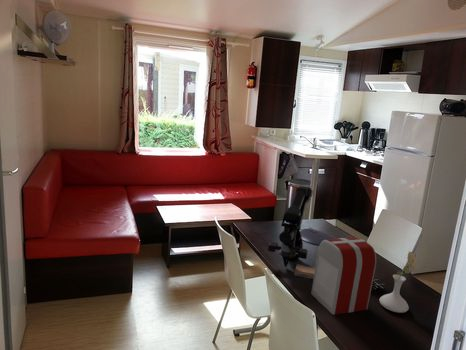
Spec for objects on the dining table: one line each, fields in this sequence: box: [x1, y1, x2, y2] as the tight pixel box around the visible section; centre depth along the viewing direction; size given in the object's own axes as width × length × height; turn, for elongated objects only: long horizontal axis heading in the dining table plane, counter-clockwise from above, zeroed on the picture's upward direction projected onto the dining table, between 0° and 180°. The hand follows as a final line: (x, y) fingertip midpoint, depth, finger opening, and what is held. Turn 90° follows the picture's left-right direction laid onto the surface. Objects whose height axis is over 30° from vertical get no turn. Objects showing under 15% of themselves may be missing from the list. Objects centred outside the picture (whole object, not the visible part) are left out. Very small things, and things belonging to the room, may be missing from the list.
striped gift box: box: [310, 237, 377, 315], centre depth 153 cm, size 17×18×27 cm
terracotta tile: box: [294, 264, 315, 276], centre depth 177 cm, size 12×6×2 cm, turn 75°
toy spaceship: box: [300, 226, 337, 247], centre depth 225 cm, size 28×24×3 cm
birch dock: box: [293, 263, 315, 280], centre depth 175 cm, size 23×12×5 cm, turn 72°
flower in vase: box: [379, 250, 419, 314], centre depth 152 cm, size 13×11×25 cm
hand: (285, 266), depth 180 cm, fingers closed
